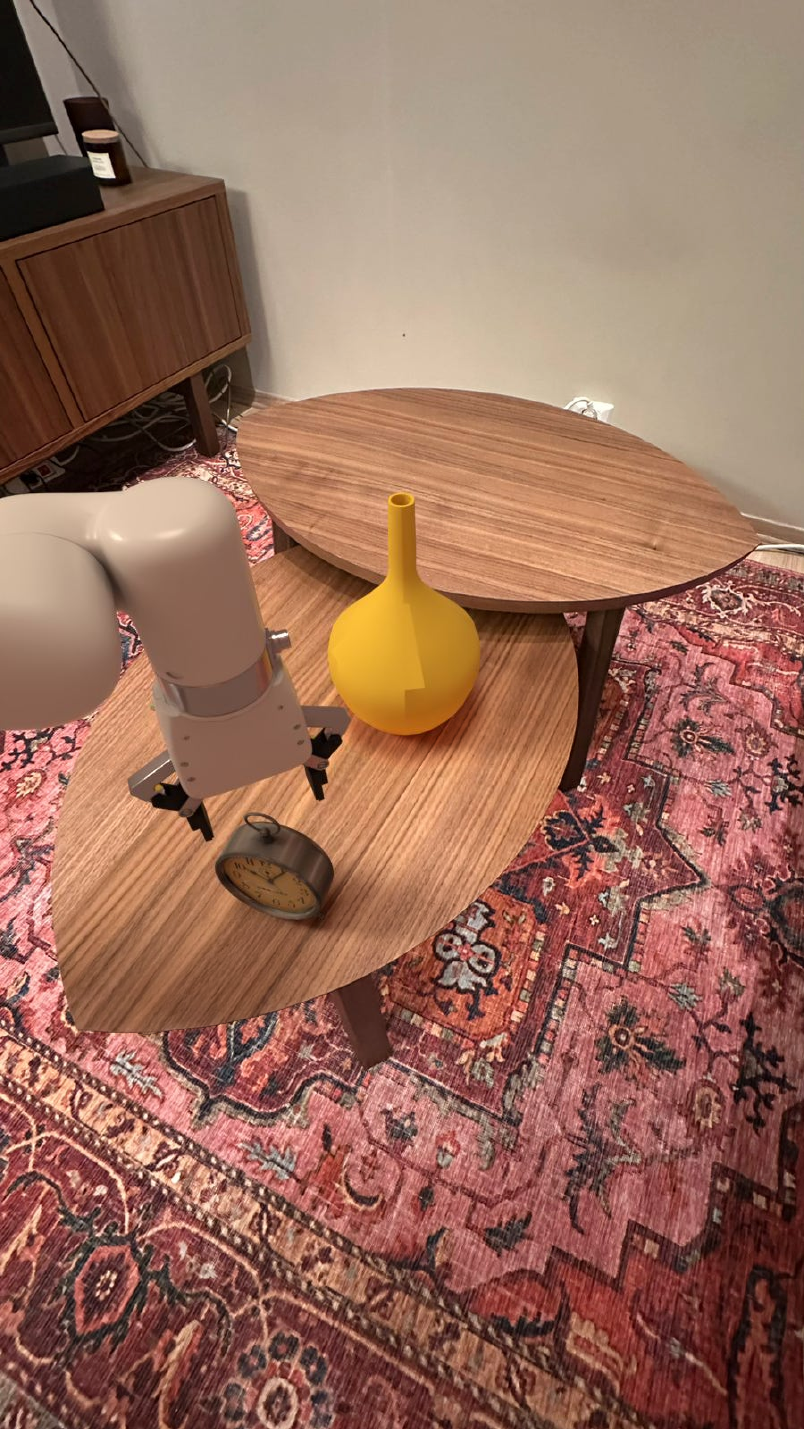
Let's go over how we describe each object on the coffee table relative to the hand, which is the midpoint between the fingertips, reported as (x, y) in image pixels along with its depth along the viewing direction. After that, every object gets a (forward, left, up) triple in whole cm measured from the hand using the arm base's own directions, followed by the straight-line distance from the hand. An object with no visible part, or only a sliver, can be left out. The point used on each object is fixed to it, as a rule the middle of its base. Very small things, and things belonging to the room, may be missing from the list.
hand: (262, 807), depth 59 cm
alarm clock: (0, 0, -17) cm, 17 cm away
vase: (+22, +20, -17) cm, 34 cm away
